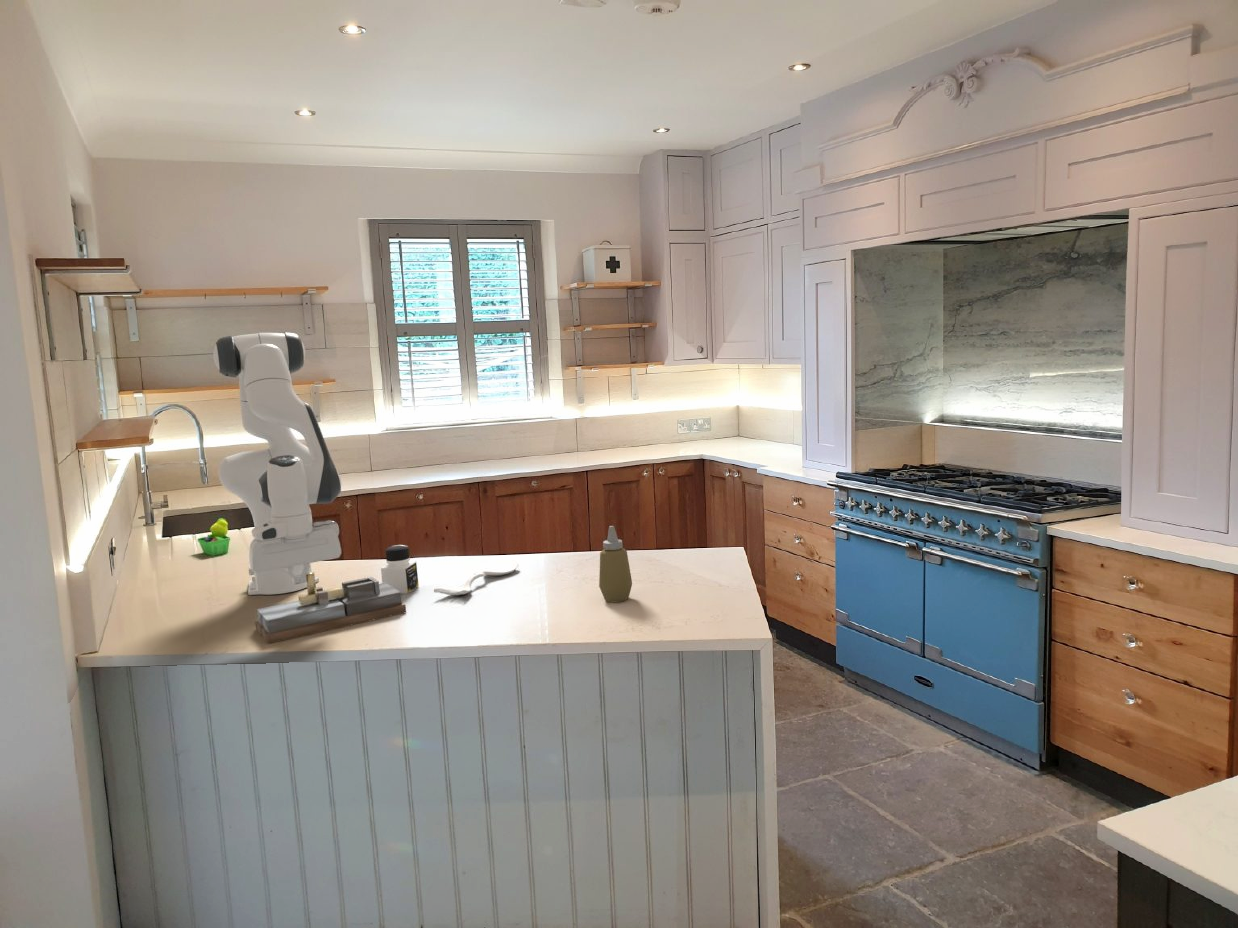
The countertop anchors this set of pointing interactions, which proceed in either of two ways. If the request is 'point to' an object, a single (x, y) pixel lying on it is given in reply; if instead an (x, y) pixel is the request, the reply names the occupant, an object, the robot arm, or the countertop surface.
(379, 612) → the sliding barrel latch
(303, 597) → the bolt
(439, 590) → the white fork
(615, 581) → the squeeze bottle
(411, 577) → the medicine bottle
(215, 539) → the fruit basket
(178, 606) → the countertop surface
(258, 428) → the robot arm
